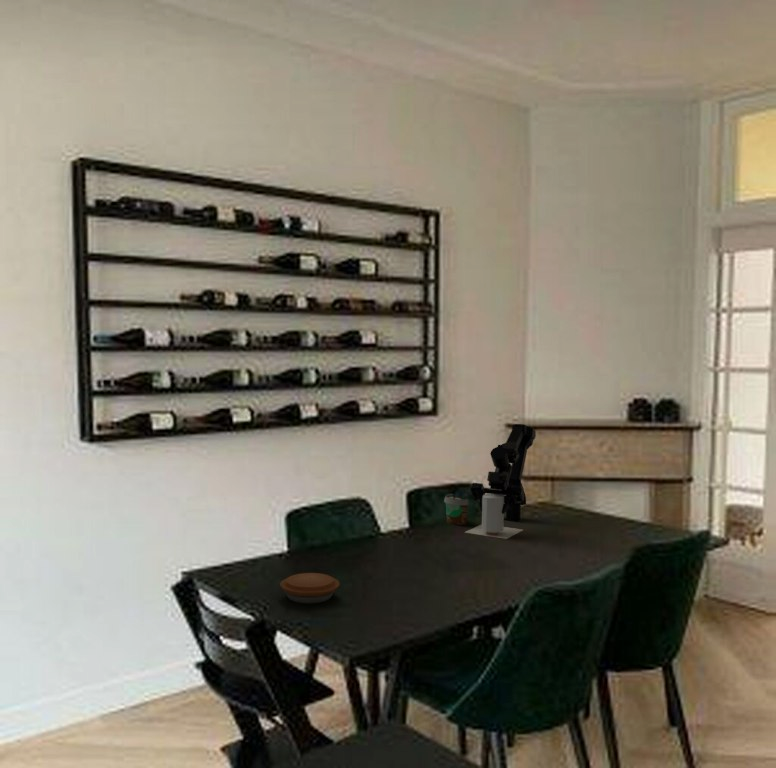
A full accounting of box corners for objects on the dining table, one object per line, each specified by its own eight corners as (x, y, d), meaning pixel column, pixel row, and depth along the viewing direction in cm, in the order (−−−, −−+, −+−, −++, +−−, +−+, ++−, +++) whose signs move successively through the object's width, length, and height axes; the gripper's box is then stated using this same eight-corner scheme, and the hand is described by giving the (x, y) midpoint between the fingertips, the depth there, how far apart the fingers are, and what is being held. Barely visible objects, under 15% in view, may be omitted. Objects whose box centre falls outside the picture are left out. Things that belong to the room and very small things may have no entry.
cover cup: (493, 526, 279) (494, 493, 278) (507, 530, 272) (508, 497, 272) (477, 528, 275) (478, 495, 274) (491, 533, 268) (492, 499, 268)
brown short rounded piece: (490, 531, 276) (490, 524, 276) (500, 533, 274) (500, 526, 274) (484, 533, 273) (484, 526, 273) (494, 535, 271) (494, 528, 271)
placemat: (482, 524, 288) (482, 523, 288) (523, 530, 280) (523, 529, 280) (464, 533, 275) (464, 532, 275) (506, 539, 266) (506, 538, 266)
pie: (267, 596, 203) (268, 577, 203) (313, 584, 214) (314, 566, 214) (304, 611, 192) (305, 591, 192) (351, 597, 203) (351, 578, 203)
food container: (437, 520, 294) (438, 494, 293) (451, 519, 296) (452, 493, 296) (453, 527, 282) (454, 500, 282) (468, 526, 285) (469, 499, 284)
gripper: (472, 460, 280) (461, 496, 270) (523, 464, 272) (513, 501, 262) (478, 478, 287) (468, 514, 278) (528, 483, 279) (519, 519, 270)
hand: (491, 511), depth 272 cm, fingers closed on cover cup, 7 cm apart
